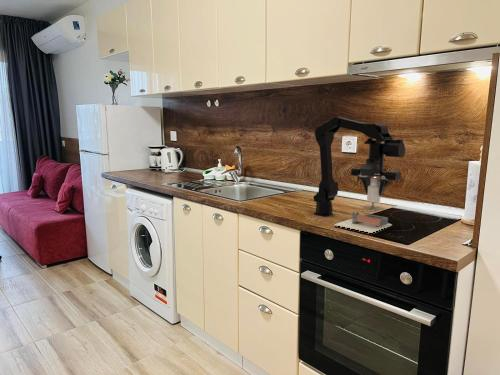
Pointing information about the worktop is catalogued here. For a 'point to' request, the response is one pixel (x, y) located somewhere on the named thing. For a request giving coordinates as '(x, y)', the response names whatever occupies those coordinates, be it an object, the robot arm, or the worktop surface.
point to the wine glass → (373, 202)
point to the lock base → (365, 224)
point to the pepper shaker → (373, 190)
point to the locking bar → (365, 219)
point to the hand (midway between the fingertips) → (373, 194)
